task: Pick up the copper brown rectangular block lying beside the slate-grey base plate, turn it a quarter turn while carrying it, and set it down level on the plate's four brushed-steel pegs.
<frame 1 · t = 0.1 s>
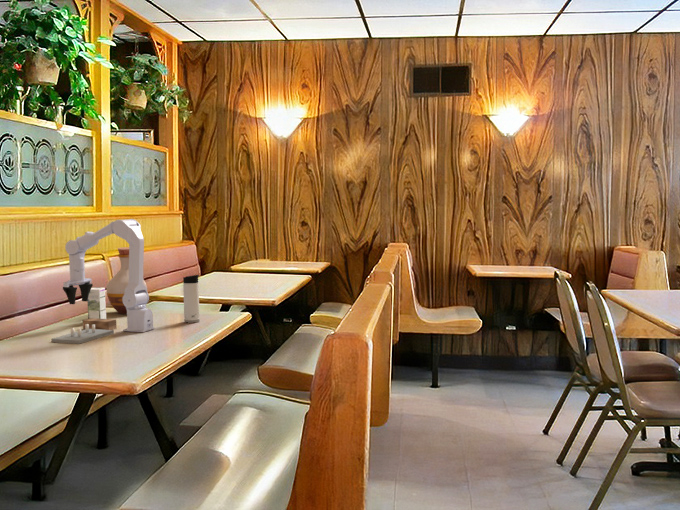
hand: (78, 302, 273), 10 cm above the table, tool pointing down, fingers open, 7 cm apart
peg plate: (83, 337, 252), on the table
syrup box: (97, 322, 286), on the table
travel mug: (192, 322, 283), on the table
copper brown rectangular block: (99, 329, 269), on the table
jug: (127, 312, 309), on the table
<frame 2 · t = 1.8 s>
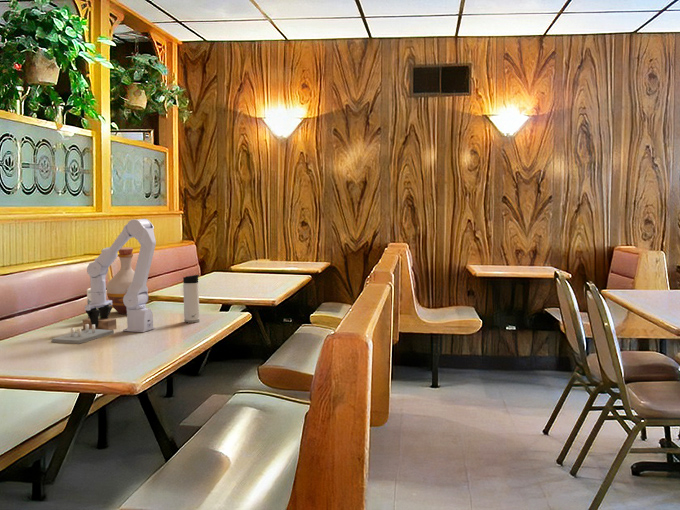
hand: (99, 325, 269), 1 cm above the table, tool pointing down, fingers closed on copper brown rectangular block, 5 cm apart
copper brown rectangular block: (99, 329, 269), on the table, touching gripper
everything else where it was.
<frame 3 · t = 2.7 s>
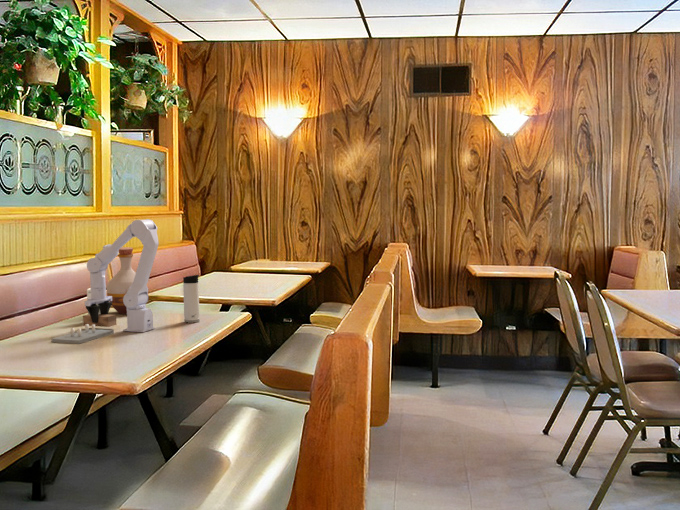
hand: (99, 321, 268), 3 cm above the table, tool pointing down, fingers closed on copper brown rectangular block, 5 cm apart
copper brown rectangular block: (99, 325, 269), point 2 cm above the table, touching gripper
everything else where it was.
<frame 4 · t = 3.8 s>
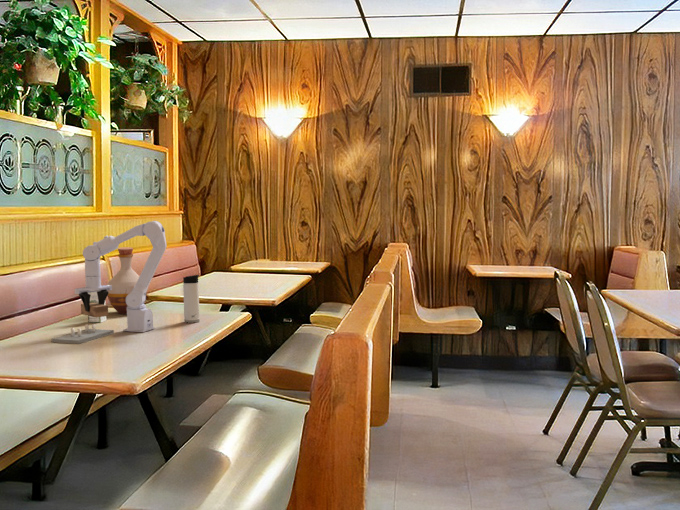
hand: (94, 310, 263), 8 cm above the table, tool pointing down, fingers closed on copper brown rectangular block, 5 cm apart
copper brown rectangular block: (94, 314, 263), point 7 cm above the table, touching gripper
everything else where it was.
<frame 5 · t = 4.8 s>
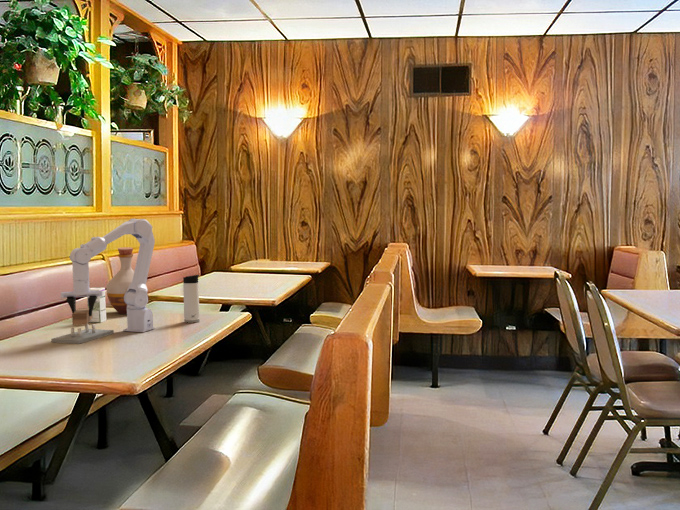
hand: (82, 316, 251), 8 cm above the table, tool pointing down, fingers closed on copper brown rectangular block, 5 cm apart
copper brown rectangular block: (82, 321, 252), point 6 cm above the table, touching gripper
everything else where it was.
when the fingers open (7 cm above the table, at t = 5.6 s): copper brown rectangular block stays where it is, resting on peg plate.
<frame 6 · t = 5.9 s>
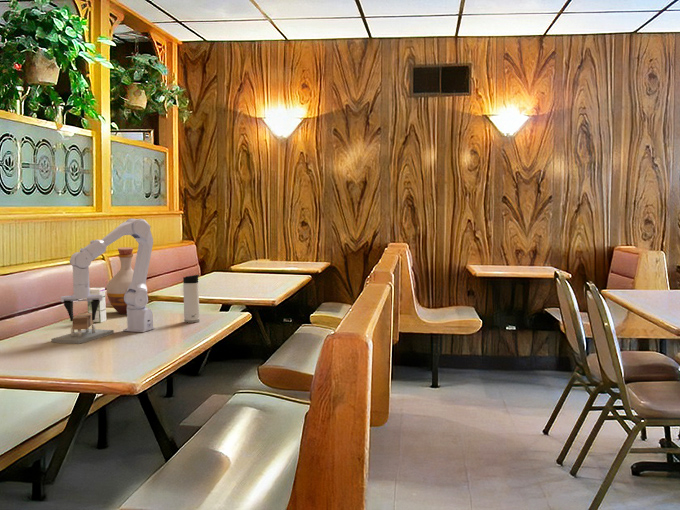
hand: (82, 320, 251), 7 cm above the table, tool pointing down, fingers open, 7 cm apart
copper brown rectangular block: (83, 326, 252), point 4 cm above the table, touching peg plate
everything else where it was.
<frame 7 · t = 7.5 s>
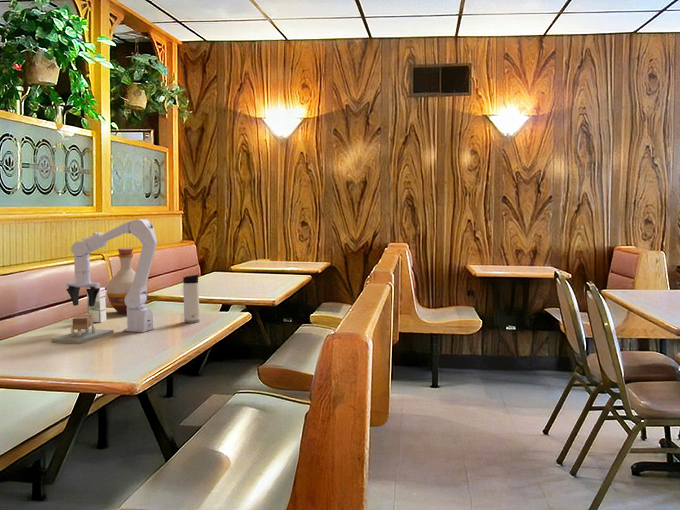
hand: (83, 305, 265), 10 cm above the table, tool pointing down, fingers open, 7 cm apart
nothing on the table moved.
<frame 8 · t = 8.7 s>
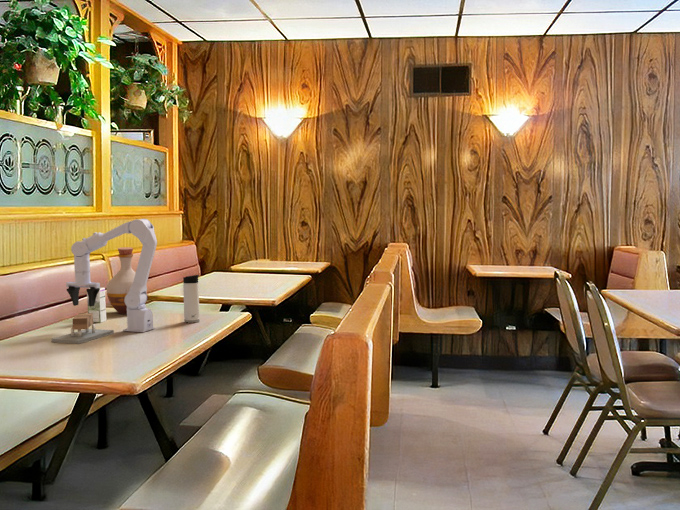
hand: (83, 305, 265), 10 cm above the table, tool pointing down, fingers open, 7 cm apart
nothing on the table moved.
at the end: copper brown rectangular block 0.1 cm off-centre on the peg plate, point 4.2 cm above the peg plate's base; copper brown rectangular block tilted 0°; the gripper is holding nothing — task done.
